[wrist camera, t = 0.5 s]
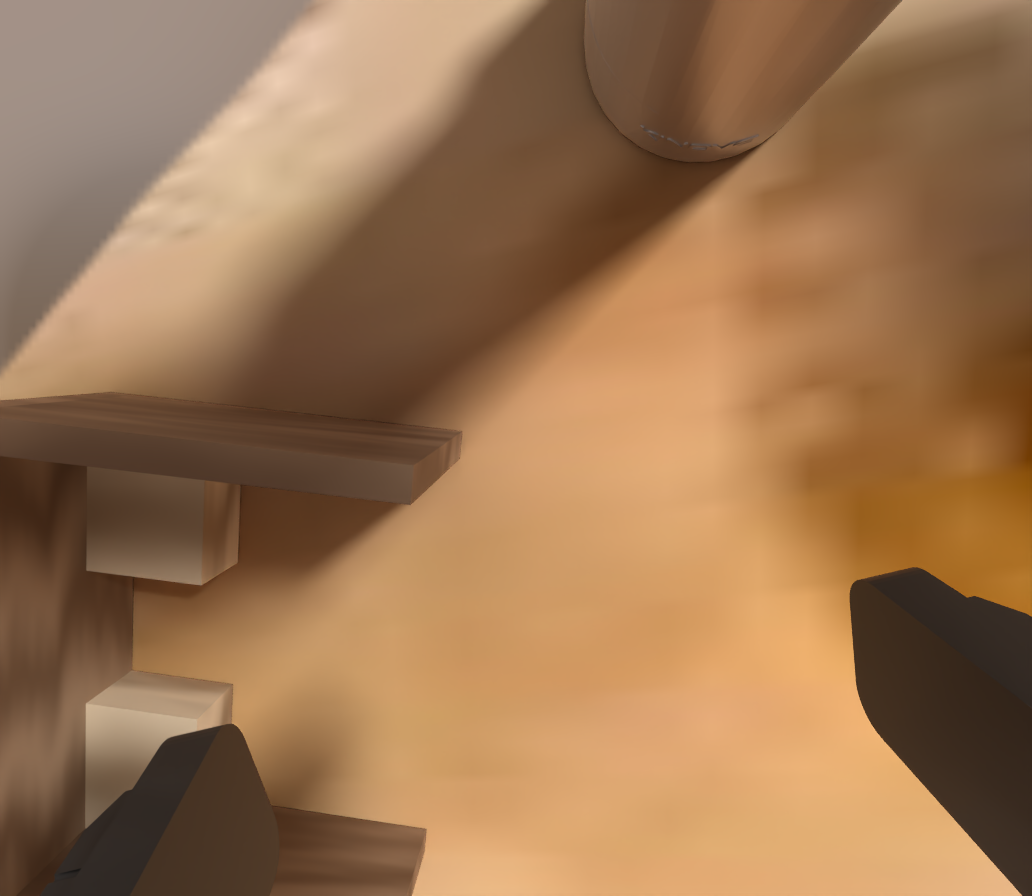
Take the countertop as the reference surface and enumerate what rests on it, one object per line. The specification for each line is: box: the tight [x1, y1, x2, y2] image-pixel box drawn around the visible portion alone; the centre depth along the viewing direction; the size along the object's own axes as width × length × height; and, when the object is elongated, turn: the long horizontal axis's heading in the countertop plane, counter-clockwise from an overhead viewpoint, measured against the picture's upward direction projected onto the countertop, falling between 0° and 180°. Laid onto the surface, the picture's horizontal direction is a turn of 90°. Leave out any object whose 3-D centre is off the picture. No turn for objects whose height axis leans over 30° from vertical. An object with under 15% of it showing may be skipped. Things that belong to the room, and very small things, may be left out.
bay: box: [0, 392, 462, 896], centre depth 26 cm, size 20×16×9 cm
